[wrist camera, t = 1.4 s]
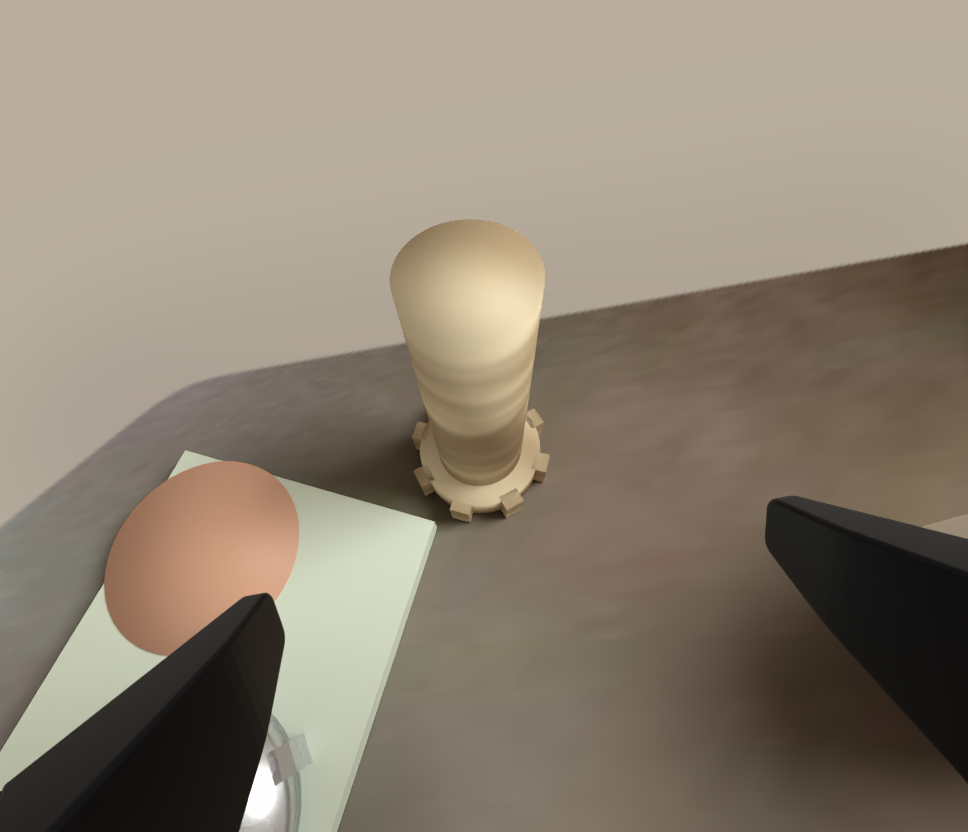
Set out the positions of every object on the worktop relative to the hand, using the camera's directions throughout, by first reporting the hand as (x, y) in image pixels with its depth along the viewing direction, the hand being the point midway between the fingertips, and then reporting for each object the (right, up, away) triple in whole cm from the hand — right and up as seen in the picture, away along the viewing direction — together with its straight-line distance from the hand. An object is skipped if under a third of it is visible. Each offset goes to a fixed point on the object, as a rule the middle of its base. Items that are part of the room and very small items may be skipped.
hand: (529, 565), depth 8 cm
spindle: (-1, +1, +15) cm, 15 cm away
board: (-12, -9, +11) cm, 18 cm away
